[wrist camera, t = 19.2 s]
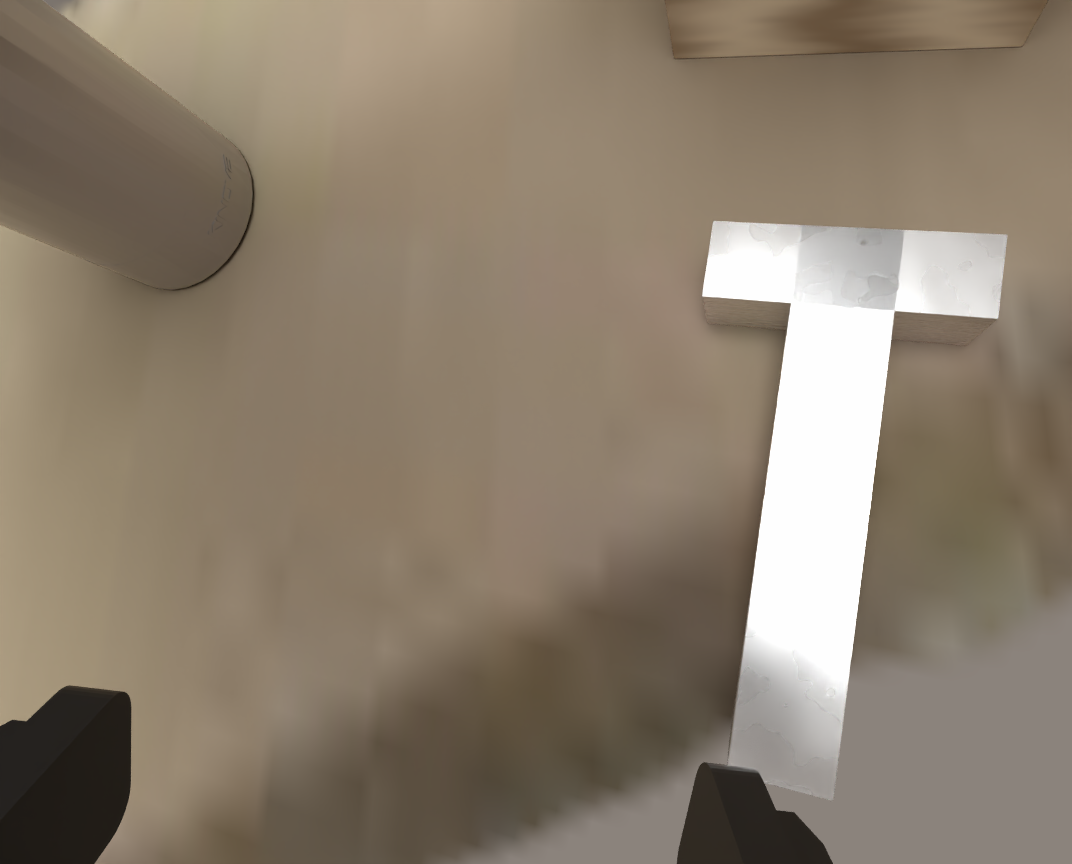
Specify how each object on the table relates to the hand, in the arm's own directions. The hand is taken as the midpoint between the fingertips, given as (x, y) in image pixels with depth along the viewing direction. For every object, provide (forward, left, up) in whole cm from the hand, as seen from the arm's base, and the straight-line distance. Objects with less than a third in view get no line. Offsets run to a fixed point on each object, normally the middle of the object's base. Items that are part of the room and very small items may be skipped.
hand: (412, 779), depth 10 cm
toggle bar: (+6, +6, -22) cm, 23 cm away
